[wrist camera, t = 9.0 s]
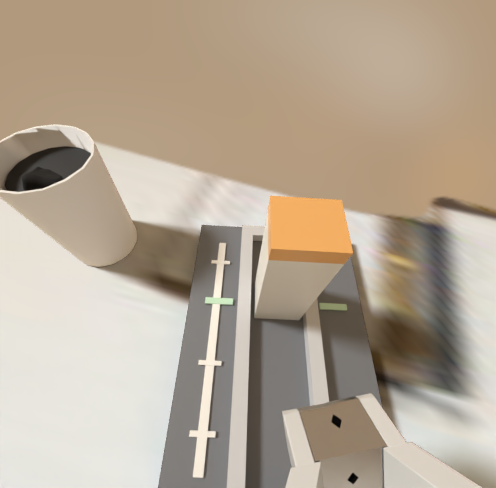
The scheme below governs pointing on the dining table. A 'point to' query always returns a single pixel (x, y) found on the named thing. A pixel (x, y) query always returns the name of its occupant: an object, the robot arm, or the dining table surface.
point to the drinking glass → (66, 192)
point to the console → (255, 368)
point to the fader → (299, 254)
